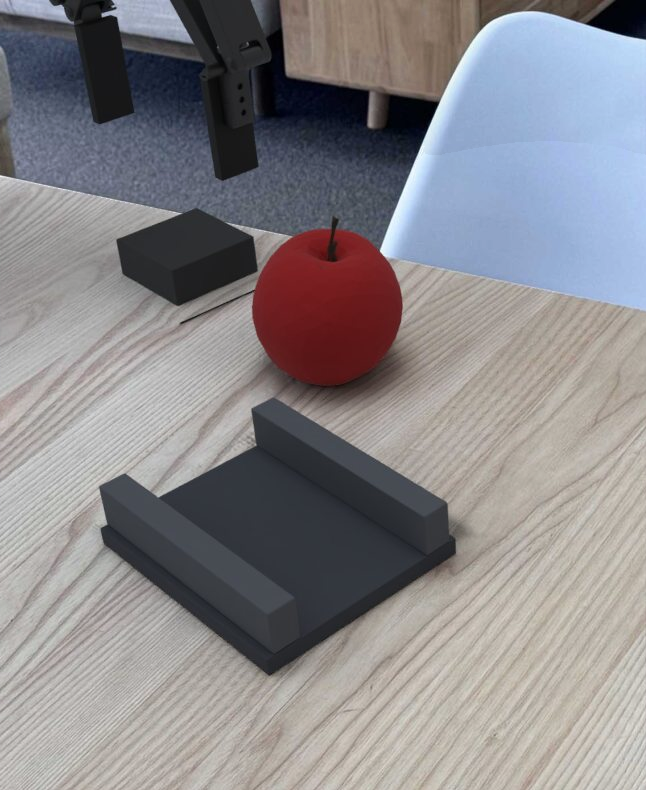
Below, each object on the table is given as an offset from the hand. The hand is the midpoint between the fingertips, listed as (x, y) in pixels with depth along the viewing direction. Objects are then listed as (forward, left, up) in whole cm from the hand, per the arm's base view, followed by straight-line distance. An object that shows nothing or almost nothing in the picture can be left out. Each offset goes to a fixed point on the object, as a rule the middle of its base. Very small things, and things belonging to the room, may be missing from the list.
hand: (173, 144), depth 89 cm
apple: (+14, 0, -11) cm, 18 cm away
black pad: (0, 0, -11) cm, 11 cm away
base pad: (+26, -13, -11) cm, 31 cm away
